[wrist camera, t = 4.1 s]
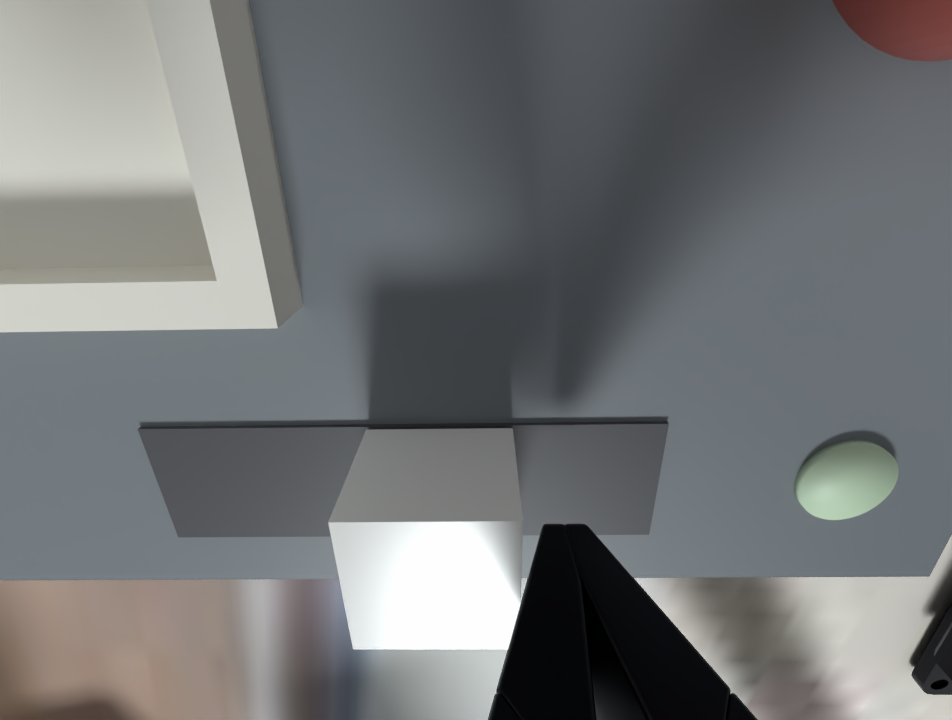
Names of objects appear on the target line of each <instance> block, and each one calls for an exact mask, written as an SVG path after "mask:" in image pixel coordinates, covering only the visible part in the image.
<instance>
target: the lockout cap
mask: <svg viewBox="0 0 952 720" xmlns="http://www.w3.org/2000/svg"><path fill="white" fill-rule="evenodd" d="M832 1H833V3H834V5H835V7H836V9H837V11H838V12H839V14H840V15H841V16H842V18H843V19H844V21H845V22H846V23H847V25H848V26H849V27H850V28H851V29H852V30H853V31H854V32H855V33H856V34H857V35H858V36H859V37H860V38H861V39H862V40H864V41H865V42H867V43H868V44H870V45H871V46H873V47H874V48H876V49H877V50H880V51H882V52H885V53H887V54H889V55H892V56H894V57H898V58H903V59H907V60H912V61H929V62H934V61H944V60H952V0H832Z"/></svg>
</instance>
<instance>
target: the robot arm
mask: <svg viewBox="0 0 952 720" xmlns="http://www.w3.org/2000/svg"><path fill="white" fill-rule="evenodd" d="M912 677H913V679H914V680H915V681H916V683H917V684H918V685H919V686H920V688H921V689H922V690H923V691H924V692H925V693H927V694H933V695H952V604H951V606H950V608H949V610H948V611H947V613H946V615H945V616H944V618H943V620H942V622H941V623H940V625H939V627H938V629H937V630H936V632H935V634H934V635H933V637H932V639H931V641H930V642H929V644H928V646H927V647H926V649H925V651H924V653H923V654H922V656H921V658H920V660H919V661H918V663H917V665H916V666H915V668H914V670H913V672H912ZM488 720H757V719H756V717H755V716H754V715H753V714H752V713H751V712H750V711H749V709H748V708H747V707H746V706H745V705H744V704H743V703H742V701H741V700H740V699H739V698H738V697H737V696H736V695H735V694H734V693H731V694H730V688H729V687H728V686H727V684H726V683H725V682H724V681H723V680H722V679H721V678H720V676H719V675H718V674H717V673H716V672H715V671H714V670H713V668H712V667H711V666H710V665H709V664H708V663H707V662H706V660H705V659H704V658H703V657H702V656H701V655H700V654H699V652H698V651H697V650H696V649H695V648H694V647H693V646H692V644H691V643H690V642H689V641H688V640H687V639H686V638H685V636H684V635H683V634H682V633H681V632H680V631H679V630H678V628H677V627H676V626H675V625H674V624H673V623H672V622H671V620H670V619H669V618H668V617H667V616H666V615H665V614H664V612H663V611H662V610H661V609H660V608H659V607H658V606H657V604H656V603H655V602H654V601H653V600H652V599H651V597H650V596H649V595H648V594H647V593H646V592H645V591H644V589H643V588H642V587H641V586H640V585H639V584H638V583H637V581H636V580H635V579H634V578H633V577H632V576H631V575H630V573H629V572H628V571H627V570H626V569H625V568H624V567H623V565H622V564H621V563H620V562H619V561H618V560H617V559H616V557H615V556H614V555H613V554H612V553H611V552H610V551H609V549H608V548H607V547H606V546H605V545H604V544H603V543H602V541H601V540H600V539H599V538H598V537H597V536H596V535H595V533H594V532H593V531H592V530H591V529H590V528H589V527H588V526H587V525H586V524H565V525H564V524H544V525H543V526H542V529H541V533H540V536H539V540H538V543H537V547H536V551H535V554H534V558H533V561H532V565H531V568H530V572H529V576H528V579H527V583H526V586H525V590H524V594H523V597H522V601H521V604H520V608H519V611H518V615H517V619H516V622H515V626H514V629H513V633H512V636H511V640H510V644H509V647H508V651H507V654H506V658H505V661H504V665H503V669H502V672H501V676H500V679H499V683H498V686H497V694H495V696H494V699H493V703H492V707H491V710H490V714H489V717H488Z"/></svg>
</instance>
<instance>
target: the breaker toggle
mask: <svg viewBox="0 0 952 720" xmlns="http://www.w3.org/2000/svg"><path fill="white" fill-rule="evenodd" d="M328 524H329V529H330V534H331V539H332V544H333V550H334V555H335V560H336V565H337V570H338V575H339V580H340V585H341V590H342V595H343V600H344V606H345V611H346V616H347V621H348V626H349V631H350V636H351V641H352V646H353V649H508V647H509V644H510V640H511V636H512V633H513V629H514V626H515V622H516V619H517V615H518V611H519V608H520V604H521V575H522V541H523V516H522V507H521V498H520V489H519V480H518V470H517V461H516V452H515V443H514V434H513V428H474V429H376V430H366V431H365V434H364V436H363V438H362V441H361V443H360V446H359V448H358V451H357V453H356V456H355V458H354V460H353V463H352V465H351V468H350V470H349V473H348V475H347V478H346V480H345V482H344V485H343V487H342V490H341V492H340V495H339V497H338V500H337V502H336V505H335V507H334V509H333V512H332V514H331V517H330V519H329V522H328Z"/></svg>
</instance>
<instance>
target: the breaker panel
mask: <svg viewBox="0 0 952 720" xmlns="http://www.w3.org/2000/svg"><path fill="white" fill-rule="evenodd" d="M474 428H513V434H514V443H515V452H516V461H517V470H518V480H519V489H520V498H521V507H522V516H523V541H522V575H521V578H528V576H529V572H530V568H531V565H532V561H533V558H534V554H535V551H536V547H537V543H538V540H539V536H540V533H541V529H542V526H543V525H544V524H564V525H565V524H586V525H587V526H588V527H589V528H590V529H591V530H592V531H593V532H594V533H595V535H596V536H597V537H598V538H599V539H600V540H601V541H602V543H603V544H604V545H605V546H606V547H607V548H608V549H609V551H610V552H611V553H612V554H613V555H614V556H615V557H616V559H617V560H618V561H619V562H620V563H621V564H622V565H623V567H624V568H625V569H626V570H627V571H628V572H629V573H630V575H631V576H632V577H633V578H675V577H910V576H930V574H931V572H932V570H933V568H934V567H935V565H936V563H937V561H938V559H939V557H940V555H941V553H942V552H943V550H944V548H945V546H946V544H947V542H948V540H949V538H950V537H951V535H952V60H944V61H934V62H929V61H912V60H907V59H903V58H898V57H894V56H892V55H889V54H887V53H885V52H882V51H880V50H877V49H876V48H874V47H873V46H871V45H870V44H868V43H867V42H865V41H864V40H862V39H861V38H860V37H859V36H858V35H857V34H856V33H855V32H854V31H853V30H852V29H851V28H850V27H849V26H848V25H847V23H846V22H845V21H844V19H843V18H842V16H841V15H840V14H839V12H838V11H837V9H836V7H835V5H834V3H833V1H832V0H0V580H204V579H339V575H338V570H337V565H336V560H335V555H334V550H333V544H332V539H331V534H330V529H329V524H328V522H329V519H330V517H331V514H332V512H333V509H334V507H335V505H336V502H337V500H338V497H339V495H340V492H341V490H342V487H343V485H344V482H345V480H346V478H347V475H348V473H349V470H350V468H351V465H352V463H353V460H354V458H355V456H356V453H357V451H358V448H359V446H360V443H361V441H362V438H363V436H364V434H365V431H366V430H376V429H474Z"/></svg>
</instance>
